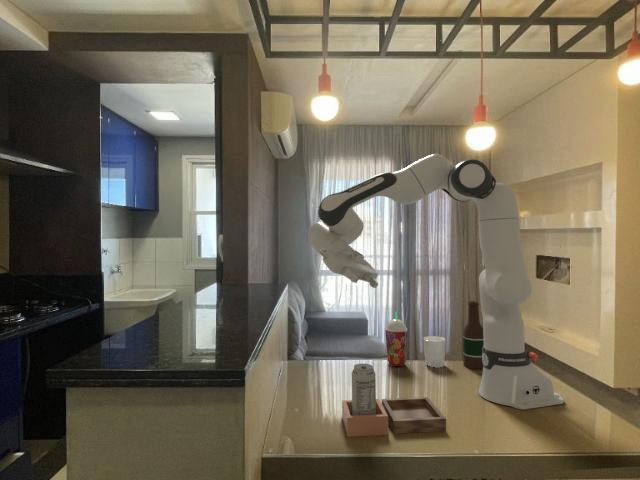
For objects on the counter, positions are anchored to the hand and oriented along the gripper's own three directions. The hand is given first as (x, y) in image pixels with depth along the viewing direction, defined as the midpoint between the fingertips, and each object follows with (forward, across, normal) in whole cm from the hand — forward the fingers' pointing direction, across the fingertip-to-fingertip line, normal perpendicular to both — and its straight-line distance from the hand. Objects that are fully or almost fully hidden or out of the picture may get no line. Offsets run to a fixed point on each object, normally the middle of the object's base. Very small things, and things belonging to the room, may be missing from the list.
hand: (366, 283), depth 108 cm
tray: (+30, +9, +20) cm, 37 cm away
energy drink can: (+26, -2, +26) cm, 37 cm away
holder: (+26, -2, +26) cm, 37 cm away
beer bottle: (+19, +60, +12) cm, 64 cm away
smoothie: (+3, +43, +28) cm, 52 cm away
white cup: (+11, +52, +20) cm, 57 cm away
